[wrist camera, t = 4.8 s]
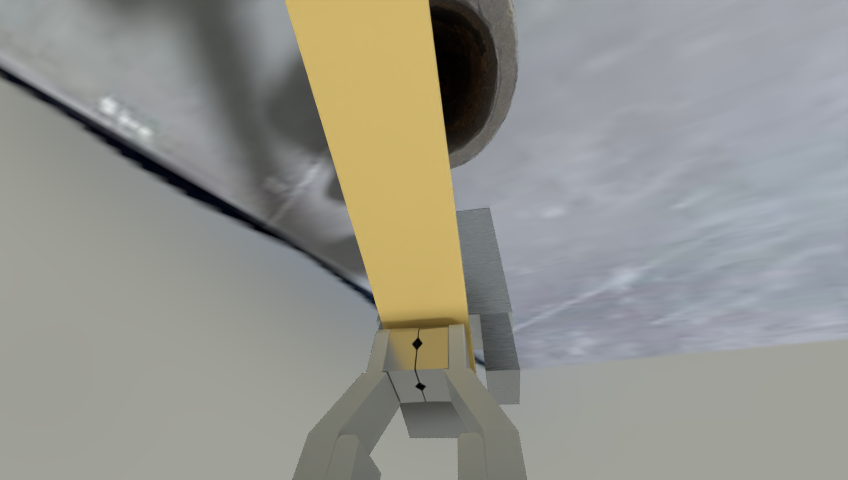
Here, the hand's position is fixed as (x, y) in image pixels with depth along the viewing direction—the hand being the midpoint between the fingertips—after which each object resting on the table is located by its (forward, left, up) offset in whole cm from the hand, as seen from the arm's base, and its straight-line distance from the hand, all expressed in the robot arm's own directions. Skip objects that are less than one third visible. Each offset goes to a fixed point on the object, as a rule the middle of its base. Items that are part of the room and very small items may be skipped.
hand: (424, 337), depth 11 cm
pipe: (-5, 0, -14) cm, 15 cm away
